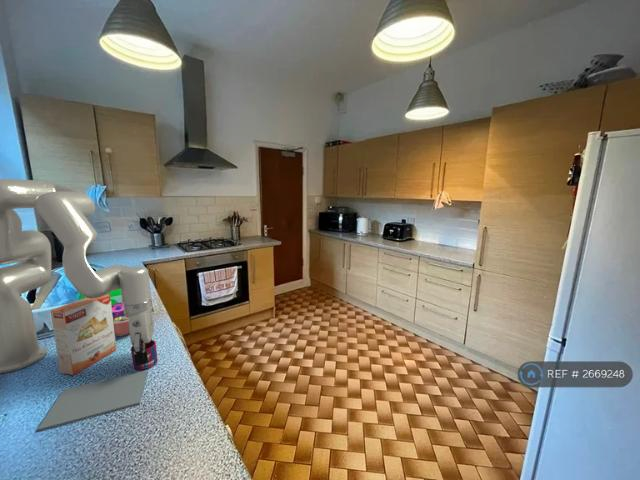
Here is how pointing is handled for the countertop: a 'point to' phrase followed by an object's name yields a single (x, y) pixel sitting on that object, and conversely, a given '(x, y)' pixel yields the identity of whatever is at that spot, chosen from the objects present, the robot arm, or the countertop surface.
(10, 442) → the countertop surface
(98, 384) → the rubber mat
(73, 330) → the cracker box
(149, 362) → the mug
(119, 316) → the cell model
